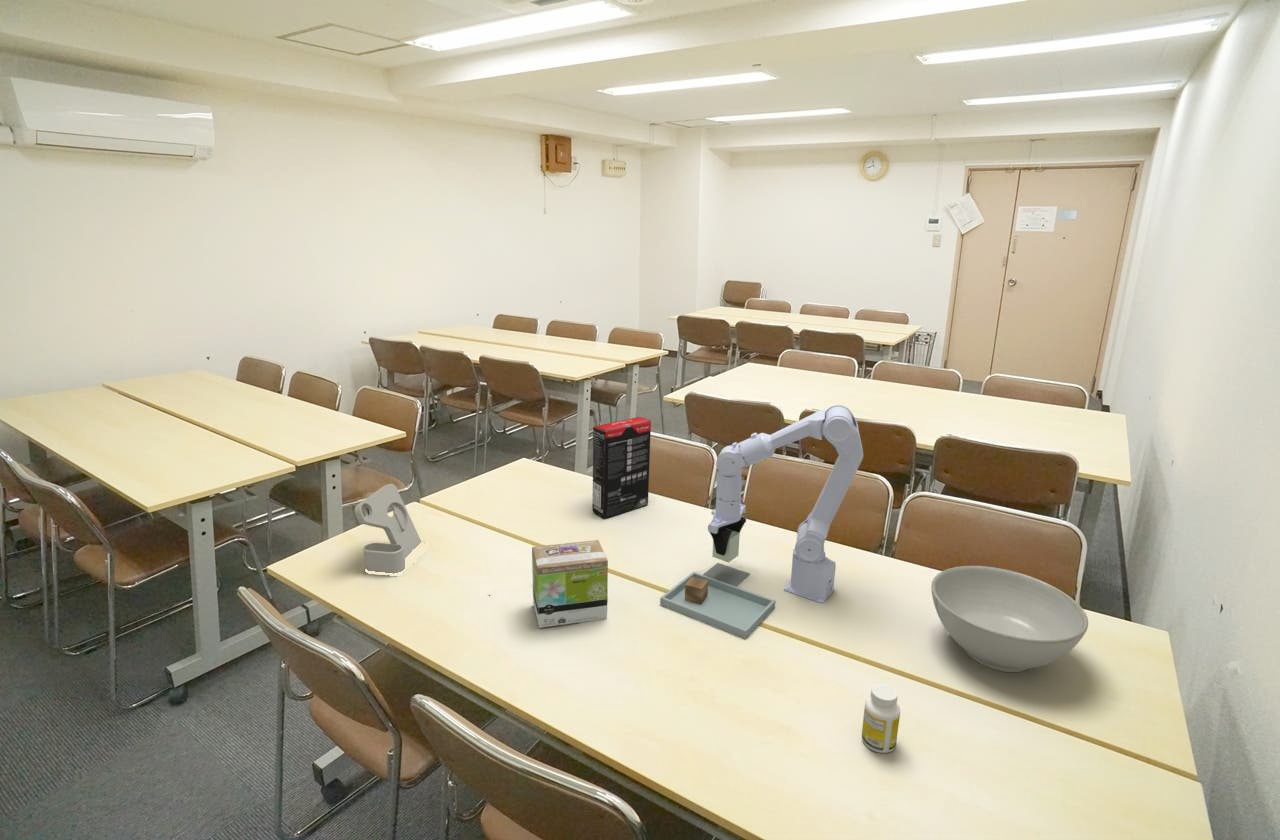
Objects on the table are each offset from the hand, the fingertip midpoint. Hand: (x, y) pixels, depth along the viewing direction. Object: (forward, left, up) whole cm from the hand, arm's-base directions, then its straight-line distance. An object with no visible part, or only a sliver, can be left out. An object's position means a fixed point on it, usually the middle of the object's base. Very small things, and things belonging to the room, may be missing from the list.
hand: (725, 549), depth 156 cm
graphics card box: (+44, -17, -8) cm, 48 cm away
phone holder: (+71, +41, -8) cm, 83 cm away
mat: (0, 0, -7) cm, 7 cm away
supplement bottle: (-46, +31, -8) cm, 56 cm away
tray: (-5, +12, -7) cm, 15 cm away
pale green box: (0, 0, -2) cm, 2 cm away
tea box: (+20, +33, -8) cm, 40 cm away
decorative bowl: (-58, -7, -8) cm, 59 cm away
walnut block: (0, +12, -7) cm, 14 cm away
